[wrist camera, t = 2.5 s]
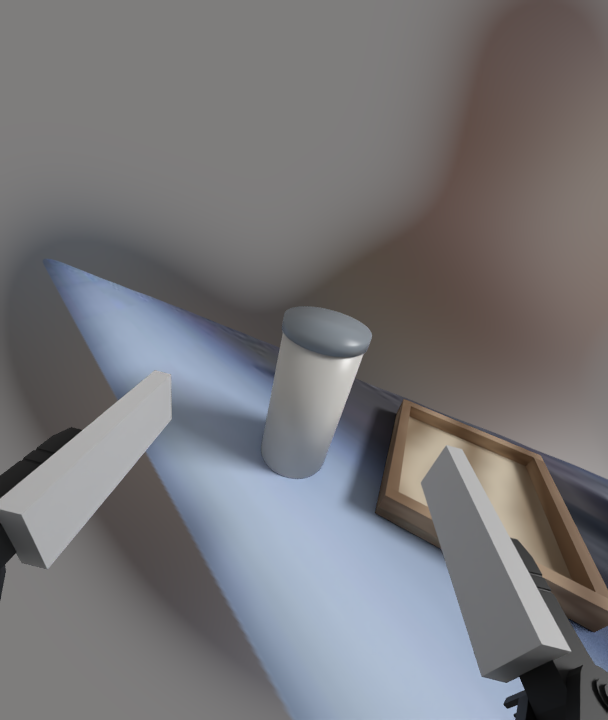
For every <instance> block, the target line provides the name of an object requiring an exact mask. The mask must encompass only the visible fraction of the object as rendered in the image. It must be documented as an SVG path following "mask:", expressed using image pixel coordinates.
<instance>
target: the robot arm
mask: <svg viewBox="0 0 608 720" xmlns="http://www.w3.org/2000/svg"><path fill="white" fill-rule="evenodd" d="M171 419H172V410H171V374H167V373H163V372H159V371H153V372H152V373H151V374H150V375H149V376H147V377H146V378H145V379H144V380H143V381H141V382H140V383H139V384H138V385H137V386H135V387H134V388H133V389H132V390H131V391H129V392H128V393H127V394H126V395H124V396H123V397H122V398H121V399H120V400H118V401H117V402H116V403H115V404H114V405H113V406H111V407H110V408H109V409H108V410H107V411H105V412H104V413H103V414H102V415H100V416H99V417H98V418H97V419H96V420H95V421H93V422H92V423H91V424H90V425H89V426H87V427H86V428H85V429H84V430H80V429H76V428H72V427H71V428H69V429H67V430H65V431H62V432H60V433H58V434H56V435H53V436H52V437H51V438H49V439H48V440H47V441H45V442H44V443H43V444H41V445H40V446H39V447H37V449H36V450H35V451H32V452H31V453H29V454H28V455H27V456H25V457H24V458H23V460H22V461H19V462H18V463H16V464H15V465H14V466H12V467H11V468H10V469H8V470H7V471H6V472H4V473H3V474H2V475H1V476H0V599H1V593H2V588H3V583H4V578H5V573H6V569H5V564H6V563H7V562H8V561H9V560H10V559H11V558H12V556H13V555H14V554H15V553H16V554H17V556H18V557H19V559H20V561H21V562H22V563H24V564H28V565H32V566H36V567H40V568H44V569H48V568H49V567H50V566H51V564H52V563H53V562H54V561H55V560H56V558H57V557H58V556H59V555H60V554H61V552H62V551H63V550H64V549H65V548H66V546H67V545H68V544H69V543H70V541H71V540H72V539H73V538H74V537H75V535H76V534H77V533H78V532H79V531H80V529H81V528H82V527H83V526H84V525H85V523H86V522H87V521H88V520H89V519H90V517H91V516H92V515H93V514H94V512H95V511H96V510H97V509H98V508H99V506H100V505H101V504H102V503H103V502H104V500H105V499H106V498H107V497H108V496H109V494H110V493H111V492H112V491H113V490H114V488H115V487H116V486H117V485H118V483H119V482H120V481H121V480H122V479H123V477H124V476H125V475H126V474H127V473H128V471H129V470H130V469H131V468H132V467H133V465H134V464H135V463H136V462H137V461H138V459H139V458H140V457H141V456H142V454H143V453H144V452H145V451H146V450H147V448H148V447H149V446H150V445H151V444H152V442H153V441H154V440H155V439H156V438H157V436H158V435H159V434H160V433H161V432H162V430H163V429H164V428H165V427H166V425H167V424H168V423H169V422H170V421H171ZM421 486H422V489H423V492H424V495H425V498H426V501H427V505H428V508H429V511H430V514H431V517H432V520H433V524H434V527H435V530H436V533H437V536H438V540H439V543H440V546H441V549H442V552H443V555H444V559H445V562H446V565H447V568H448V571H449V574H450V578H451V581H452V584H453V587H454V590H455V594H456V597H457V600H458V603H459V606H460V609H461V613H462V616H463V619H464V622H465V625H466V628H467V632H468V635H469V638H470V641H471V644H472V648H473V651H474V654H475V657H476V660H477V663H478V667H479V670H480V673H481V676H482V677H485V678H489V679H493V680H497V681H501V682H505V683H507V682H509V681H511V680H513V679H516V678H518V677H520V679H521V682H522V684H523V687H524V689H525V690H524V691H521V692H519V693H517V694H514V695H512V696H510V697H508V698H506V700H505V702H504V706H505V707H506V708H507V709H508V708H511V707H513V706H516V705H518V707H517V713H515V714H514V717H515V718H516V719H515V720H608V673H607V672H606V671H605V670H603V669H602V668H601V667H599V666H596V665H595V664H594V662H593V661H592V659H591V658H590V656H589V654H588V653H587V651H586V649H585V648H584V646H583V644H582V642H581V641H580V639H579V637H578V635H577V634H576V632H575V630H574V628H573V627H572V625H571V623H570V622H569V620H568V618H567V616H566V615H565V613H564V611H563V609H562V608H561V606H560V604H559V602H558V601H557V599H556V597H555V595H554V594H552V593H551V589H550V587H549V585H548V583H547V582H546V580H545V578H543V577H542V573H541V571H540V569H539V568H538V566H537V564H536V562H535V561H534V559H533V557H532V556H531V555H530V553H529V552H528V551H527V550H526V549H525V548H524V546H523V545H522V544H521V543H520V542H519V540H518V539H514V538H510V537H509V535H508V533H507V531H506V529H505V528H504V526H503V524H502V522H501V520H500V518H499V516H498V515H497V513H496V511H495V509H494V507H493V505H492V504H491V502H490V500H489V498H488V496H487V494H486V492H485V491H484V489H483V487H482V485H481V483H480V481H479V480H478V478H477V476H476V474H475V472H474V470H473V468H472V467H471V465H470V463H469V461H468V459H467V457H466V455H465V454H464V452H463V450H462V449H460V448H456V447H452V446H448V445H446V446H445V448H444V449H443V450H442V452H441V453H440V455H439V456H438V458H437V459H436V461H435V462H434V464H433V465H432V467H431V468H430V470H429V471H428V473H427V474H426V475H425V477H424V478H423V480H422V481H421Z"/></svg>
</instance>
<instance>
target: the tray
mask: <svg viewBox="0 0 608 720" xmlns="http://www.w3.org/2000/svg"><path fill="white" fill-rule="evenodd" d="M446 445H448V446H452V447H456V448H460V449H462V450H463V452H464V454H465V455H466V457H467V459H468V461H469V463H470V465H471V467H472V468H473V470H474V472H475V474H476V476H477V478H478V480H479V481H480V483H481V485H482V487H483V489H484V491H485V492H486V494H487V496H488V498H489V500H490V502H491V504H492V505H493V507H494V509H495V511H496V513H497V515H498V516H499V518H500V520H501V522H502V524H503V526H504V528H505V529H506V531H507V533H508V535H509V537H510V538H514V539H518V540H519V542H520V543H521V544H522V545H523V546H524V548H525V549H526V550H527V551H528V552H529V553H530V555H531V556H532V557H533V559H534V561H535V562H536V564H537V566H538V568H539V569H540V571H541V573H542V577H543V578H545V580H546V582H547V583H548V585H549V587H550V589H551V593H552V594H554V595H555V597H556V599H557V601H558V602H559V604H560V606H561V608H562V609H563V611H564V613H565V615H566V616H567V618H569V619H570V620H572V621H574V622H576V623H578V624H580V625H582V626H583V627H585V628H587V629H589V630H591V631H593V632H596V631H598V630H600V629H602V628H604V627H606V626H608V589H607V587H606V585H605V583H604V581H603V579H602V577H601V575H600V573H599V571H598V569H597V567H596V565H595V563H594V561H593V559H592V557H591V555H590V553H589V551H588V549H587V547H586V545H585V543H584V541H583V539H582V537H581V535H580V533H579V531H578V529H577V527H576V525H575V523H574V521H573V519H572V517H571V515H570V513H569V511H568V509H567V507H566V505H565V503H564V501H563V499H562V497H561V495H560V493H559V491H558V489H557V487H556V485H555V483H554V481H553V479H552V477H551V475H550V473H549V471H548V469H547V467H546V465H545V463H544V461H543V459H542V457H541V456H540V455H538V454H535V453H533V452H531V451H528V450H526V449H523V448H521V447H519V446H516V445H514V444H511V443H509V442H506V441H504V440H502V439H499V438H497V437H494V436H492V435H490V434H487V433H485V432H482V431H480V430H477V429H475V428H473V427H470V426H468V425H465V424H463V423H461V422H458V421H456V420H453V419H451V418H448V417H446V416H444V415H441V414H439V413H436V412H434V411H432V410H429V409H427V408H424V407H422V406H419V405H417V404H415V403H412V402H410V401H407V400H405V399H404V400H403V402H402V404H401V406H400V408H399V410H398V412H397V414H396V418H395V423H394V428H393V432H392V437H391V441H390V446H389V451H388V455H387V460H386V464H385V469H384V473H383V478H382V483H381V487H380V492H379V496H378V501H377V506H376V510H375V513H376V514H378V515H379V516H381V517H383V518H385V519H387V520H389V521H390V522H392V523H394V524H396V525H398V526H400V527H402V528H403V529H405V530H407V531H409V532H411V533H413V534H414V535H416V536H418V537H420V538H422V539H424V540H425V541H427V542H429V543H431V544H433V545H435V546H436V547H438V548H440V549H441V546H440V543H439V540H438V536H437V533H436V530H435V527H434V524H433V520H432V517H431V514H430V511H429V508H428V505H427V501H426V498H425V495H424V492H423V489H422V486H421V481H422V480H423V478H424V477H425V475H426V474H427V473H428V471H429V470H430V468H431V467H432V465H433V464H434V462H435V461H436V459H437V458H438V456H439V455H440V453H441V452H442V450H443V449H444V448H445V446H446Z"/></svg>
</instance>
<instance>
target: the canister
mask: <svg viewBox="0 0 608 720" xmlns="http://www.w3.org/2000/svg"><path fill="white" fill-rule="evenodd" d="M282 330H283V335H282V340H281V345H280V351H279V356H278V361H277V366H276V371H275V377H274V382H273V387H272V392H271V397H270V403H269V408H268V413H267V418H266V424H265V429H264V434H263V439H262V444H261V454H262V457H263V459H264V461H265V463H266V464H267V465H268V467H269V468H271V469H272V470H273V471H274V472H276V473H277V474H279V475H282V476H284V477H287V478H292V479H302V478H307V477H310V476H312V475H314V474H315V473H317V472H318V471H319V470H320V469H321V467H322V465H323V463H324V460H325V458H326V455H327V452H328V449H329V447H330V444H331V441H332V438H333V436H334V433H335V430H336V428H337V425H338V422H339V419H340V417H341V414H342V411H343V408H344V406H345V403H346V400H347V397H348V395H349V392H350V389H351V387H352V384H353V381H354V378H355V375H356V373H357V370H358V367H359V364H360V362H361V359H362V356H363V354H364V353H365V352H366V351H367V349H368V346H369V343H370V341H371V338H372V333H371V332H370V330H369V329H368V328H367V327H366V326H365V325H364V324H362V323H361V322H359V321H357V320H356V319H354V318H351V317H350V316H347V315H345V314H342V313H339V312H336V311H332V310H328V309H324V308H317V307H307V306H305V307H304V306H303V307H294V308H291V309H288V310H287V311H286V312H285V314H284V319H283V324H282Z"/></svg>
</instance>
